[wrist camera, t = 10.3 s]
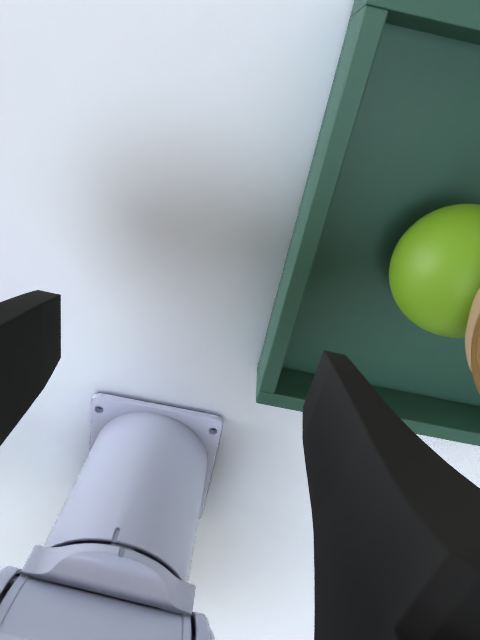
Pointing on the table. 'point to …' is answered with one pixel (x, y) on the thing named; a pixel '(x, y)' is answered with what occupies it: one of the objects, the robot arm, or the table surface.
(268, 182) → the table surface
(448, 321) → the googly-eyed toy snail
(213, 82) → the table surface
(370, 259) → the tray
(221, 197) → the table surface
